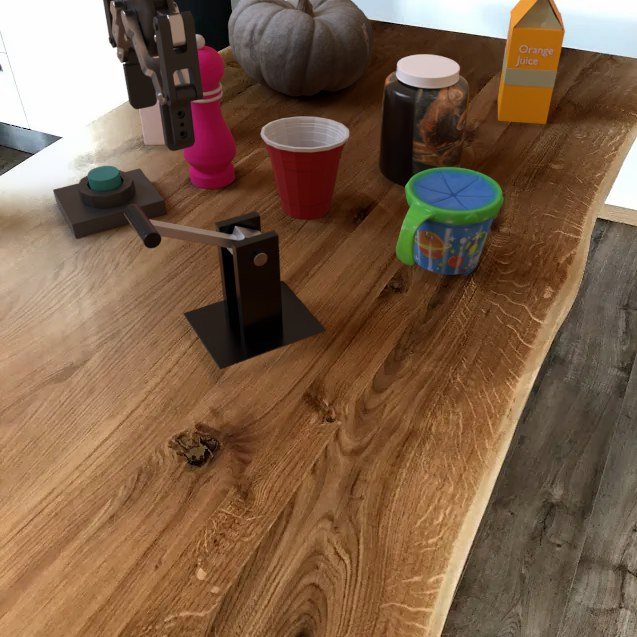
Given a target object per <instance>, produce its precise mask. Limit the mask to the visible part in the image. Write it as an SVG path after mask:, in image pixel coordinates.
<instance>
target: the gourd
mask: <svg viewBox="0 0 637 637" xmlns="http://www.w3.org/2000/svg"><path fill="white" fill-rule="evenodd" d="M227 29H228V42H229V46H230V49H231V53H232V56H233V58H234V60H235V61H236V62H237V63H238V65H239V66H240V67H241V68H242V70H243V71H244V72H245V73H246V74H247V75H248V77H250V78H252V80H254V81H256V83H258V84H260V85H261V86H263V87H266V88H268V89H272V90H274V91H275V92H277V93H281V94H284V95H286V96H288V97H300V96H305V97H312V96H314V95H317V94H318V93H320V92H321V91H324V92H338V91H341V90H343V89H346V88H348V87H350V86H351V85H353V84H354V83H355V82H357V80H359V79H360V78H361V77H362V75H363V74H365V72H366V70H367V69H368V67H369V64H370V61H371V58H372V57H371V56H372V51H373V46H374V36H375V34H374V30H373V27H372V23H371V21H370V19H369V17H367V15H366V14H365V13H364V11H363V10H362V9H361V8H359V6H358V5H357V4H356V3H355V2H354V1H353V0H239V1H238V3H237V4H236V6H235V8H234V9H233V11H232V12H231V14H230V16H229V20H228V24H227Z"/></svg>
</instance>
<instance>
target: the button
mask: <svg viewBox="0 0 637 637" xmlns="http://www.w3.org/2000/svg"><path fill="white" fill-rule="evenodd" d="M119 170H120V169H119V168H117V167H115V166H112V165H101V166H96V167H94V168H92V169H91V170H89V171H88V172H87V175H86V176H88V180H89V185H90V188H91V190H94V191H110V190H114V189H116V188H118V187H119V186H121V184H122V182H121V177H120V172H119Z"/></svg>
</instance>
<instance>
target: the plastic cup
mask: <svg viewBox="0 0 637 637" xmlns="http://www.w3.org/2000/svg"><path fill="white" fill-rule="evenodd" d="M260 137H261V139H262V140H263V141H264V144H265V145H266V150H267V152H268V157H269V159H270V164H271V168H272V172H273V176H274V181H275V185H276V190H277V195H278V197H279V201H280V204H281V209H282V211H283V212H284V214H285V215H286V216H288V217H291V218H292V219H297V220H306V221H311V220H315V219H320V218H322V217H324V216H325V215H327V213H328V212H330V210H331V205H332V204H331V203H332V198H333V197H334V191H335V186H336V182H337V176H338V170H339V166H340V161H341V159H342V154H343V151H344V149H345V148H344V147H345V145H346V142H347V141H349V138H350V129H349V128H348V127H347V126H346V125H344V124H343V123H341V122H339V121H336V120H333V119H330V118H324V117H320V116H301V115H300V116H292V117H291V116H290V117H283V118H279V119H275V120H273V121H270V122H268V123H267V124H265V125H264V126H262V128H261V131H260Z"/></svg>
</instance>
